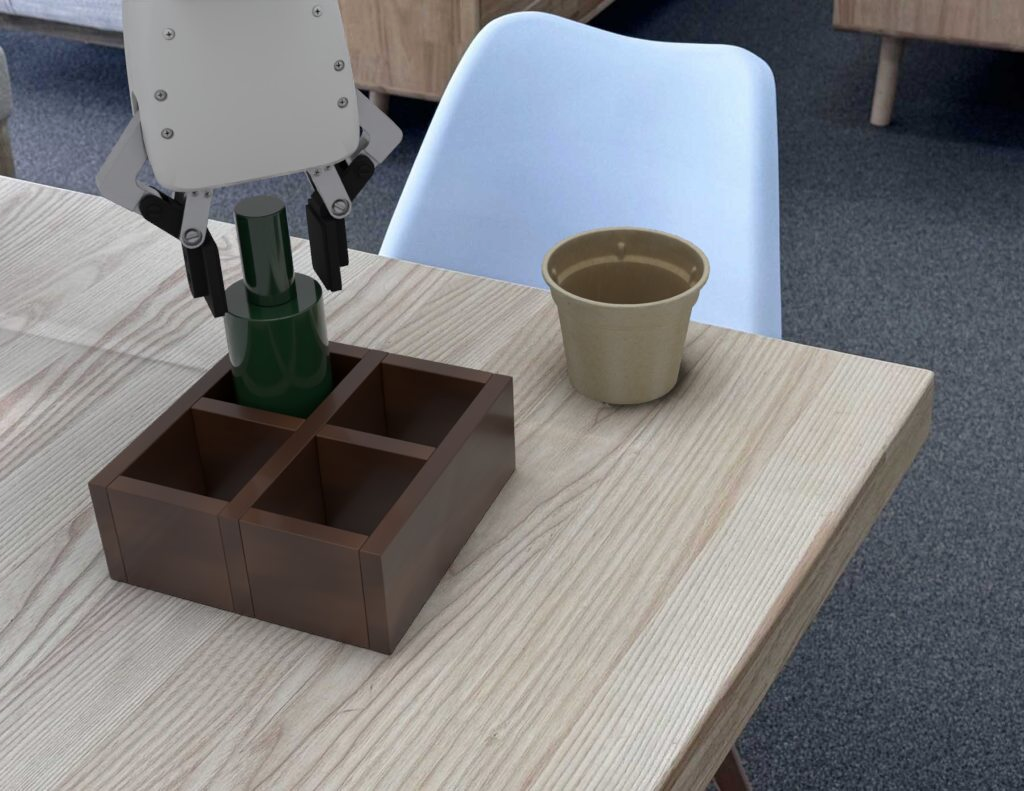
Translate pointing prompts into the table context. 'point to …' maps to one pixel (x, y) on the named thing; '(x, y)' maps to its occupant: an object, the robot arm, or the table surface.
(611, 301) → the flower pot
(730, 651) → the table surface
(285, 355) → the bottle
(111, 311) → the table surface
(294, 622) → the box
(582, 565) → the table surface
